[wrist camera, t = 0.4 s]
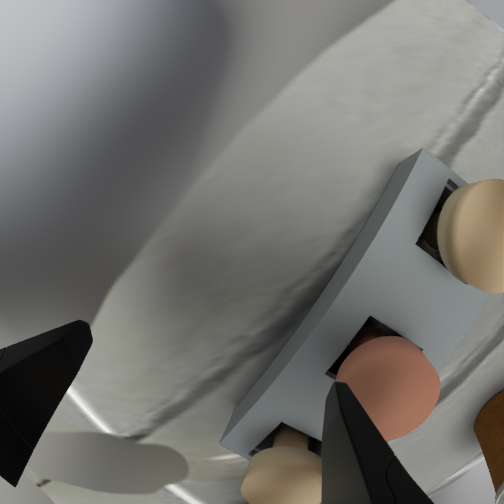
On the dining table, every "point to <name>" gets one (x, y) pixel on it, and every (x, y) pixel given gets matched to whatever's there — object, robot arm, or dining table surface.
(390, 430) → the knob middle
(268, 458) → the knob
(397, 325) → the grey peg holder block
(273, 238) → the dining table surface
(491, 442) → the disposable coffee cup
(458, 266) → the knob
